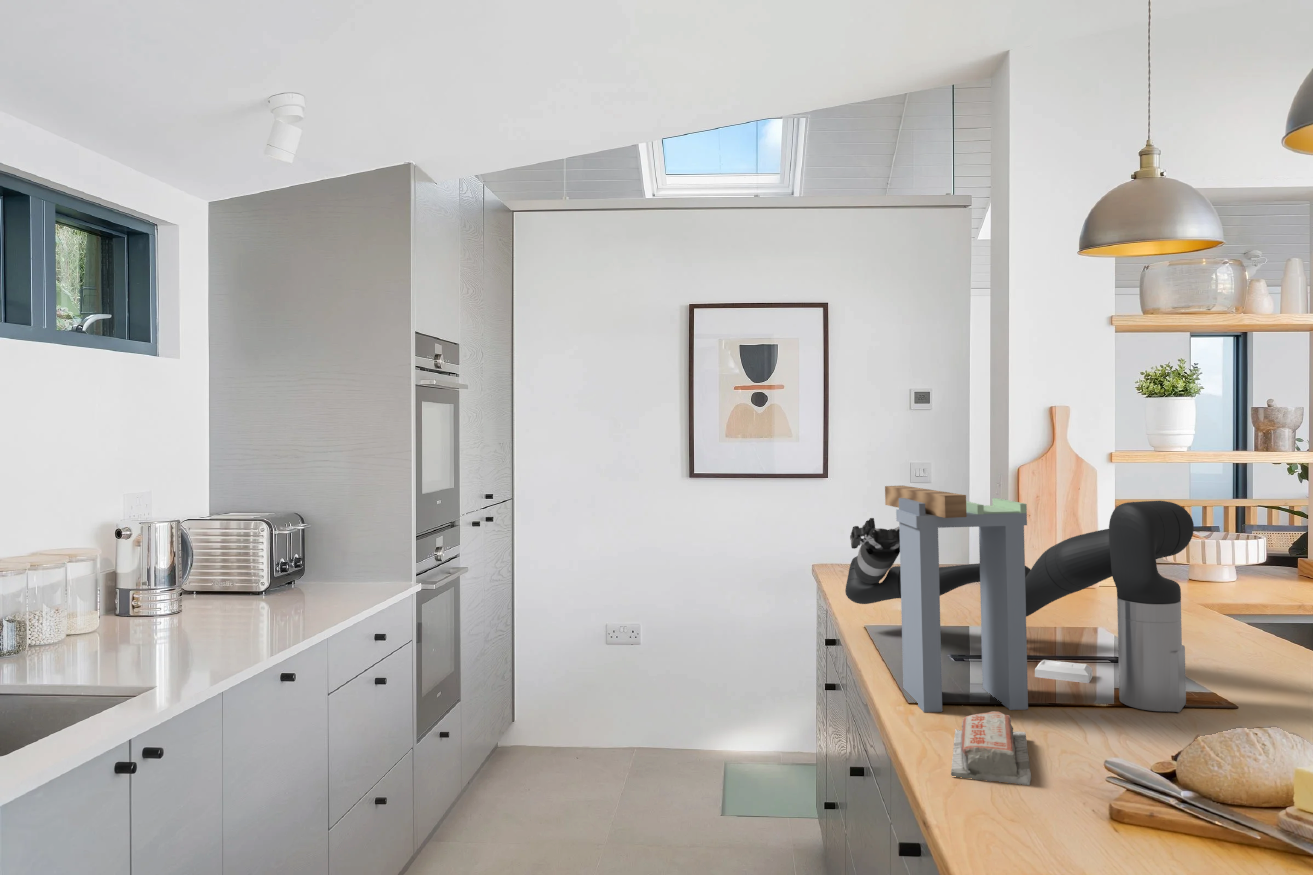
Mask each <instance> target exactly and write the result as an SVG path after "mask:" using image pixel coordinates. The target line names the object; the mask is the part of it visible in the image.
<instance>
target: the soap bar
mask: <svg viewBox="0 0 1313 875" xmlns="http://www.w3.org/2000/svg"><path fill="white" fill-rule="evenodd" d="M1034 677H1035V678H1040V679H1041V678H1042V679H1048V680H1049V679H1050V680H1056V681H1058V680H1059V681H1066V682H1076V683H1085V684H1090V682H1091V680H1092V678H1093V668H1092V667H1091V666H1090V665H1088V664H1087V663H1077V662H1067V661H1059V660H1049V659H1042V660H1041V661H1040V662H1039V663H1038V664H1037V666H1036V667H1035V668H1034Z"/></svg>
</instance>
